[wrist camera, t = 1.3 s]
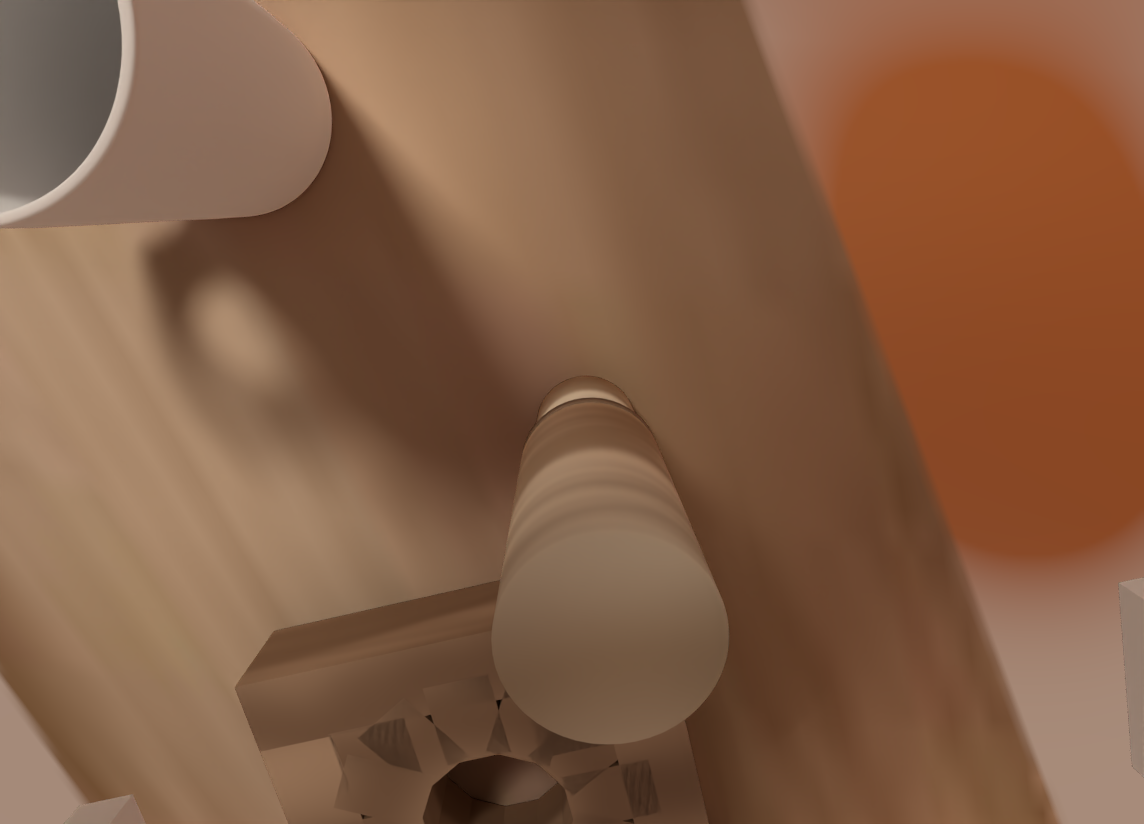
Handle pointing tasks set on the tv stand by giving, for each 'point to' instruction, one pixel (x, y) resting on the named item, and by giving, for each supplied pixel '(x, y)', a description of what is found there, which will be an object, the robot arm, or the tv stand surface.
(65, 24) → the mug
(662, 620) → the leg peg
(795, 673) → the tv stand surface
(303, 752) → the beige flat square block
